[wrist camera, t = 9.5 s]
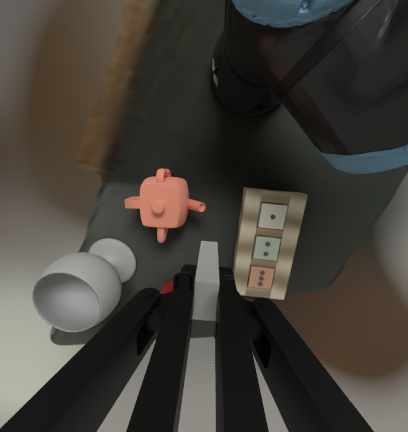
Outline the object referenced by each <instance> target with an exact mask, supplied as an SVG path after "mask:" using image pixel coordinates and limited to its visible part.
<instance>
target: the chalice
mask: <svg viewBox="0 0 408 432" xmlns="http://www.w3.org/2000/svg"><path fill="white" fill-rule="evenodd" d="M135 271H136V258H135V255H134V254H133V252H132V250H131V249H130V248H129V247H128V246H127V245H126V244H124V243H123V242H121V241H119V240H116V239H111V238H106V239H101V240H98V241H96V242H95V243H93V244H92V246H91V247H90V248H89V250H88V253H85V252H78V253H72V254H68V255H66V256H64V257H61V258H60V259H58V260H56V261H55V262H54V263H53V264H51V265H50V266H49V267H48V268H47V269H46V270H45V271H44V272H43V273H42V275H41V276H40V278H39V279H38V281H37V282H36V284H35V286H34V291H33V302H34V306H35V308H36V310H37V312H38V314H39V315H40V316H41V317H42V319H44V320H45V321H46V322H47V323H48V324H50V325H51V326H53V327H55V328H57V329H60V330H62V331H67V332H79V331H84V330H87V329H89V328H91V327H93V326H95V325H97V324H98V323H99V322H101V321H102V320H104V319H105V318H106V317H107V316H108V315H109V314H110V313H111V312H112V311H113V310H114V308H115V307H116V306H117V304H118V302H119V300H120V296H121V290H122V286H121V283H124V282H126V281H128V280H129V279H131V277H132V276H133V275H134V273H135Z"/></svg>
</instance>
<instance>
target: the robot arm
mask: <svg viewBox="0 0 408 432" xmlns="http://www.w3.org/2000/svg"><path fill="white" fill-rule="evenodd" d="M211 73H212V83H213V87H214V90H215V93H216V95H217V97H218V98H219V100H220V101H221V103H222V104H223V105H224V106H225V107H226V108H227V109H229V110H230V111H232V112H234V113H236V114H238V115H242V116H258V115H261V114H264V113H266V112H268V111H270V110H272V109H273V108H275V107H276V106H277V105H278V104H279V103H280V102H282V104H283V105H284V106H285V107H286V109H287V110H288V111H289V113H290V114H291V115H292V117H293V118H294V119H295V120H296V122H297V123H298V124H299V126H300V127H301V128H302V130H303V131H304V132H305V133H306V135H307V136H308V137H309V139H310V140H311V141H312V143H313V144H314V148H315V149H316V151H317V152H319V153H320V154H322V155H323V156H324V157H325V158H326V159H327V160H328V162H329V163H330V164H331V165H332V166H333V167H334V168H336V169H337V170H341V171H343V172H346V173H352V174H365V173H374V172H380V171H385V170H389V169H393V168H397V167H401V166H404V165H407V164H408V0H226V2H225V22H224V30H223V32H222V34H221V35H220V37H219V39H218V41H217V43H216V46H215V49H214V52H213V56H212V65H211ZM192 319H197V320H207V321H216V325H215V334H214V338H215V364H216V366H215V367H216V368H215V370H216V432H269V431H268V427H267V422H266V417H265V412H264V407H263V402H262V397H261V393H260V388H259V383H258V378H257V373H256V369H255V364H254V359H253V355H254V357H255V359H256V361H257V363H258V366H259V367H260V370H261V372H262V374H263V376H264V379H265V381H266V383H267V385H268V387H269V390H270V392H271V394H272V396H273V398H274V400H275V403H276V405H277V407H278V409H279V411H280V414H281V416H282V418H283V420H284V423H285V425H286V427H287V429H288V431H289V432H374V431H373V430H372V429H371V427H370V426H369V425H368V423H367V422H366V421H365V419H364V418H363V417H362V416H361V414H360V413H359V412H358V411H357V409H356V408H355V407H354V405H353V404H352V403H351V401H349V399H348V398H347V396H346V395H345V394H344V393H343V391H342V390H341V389H340V387H339V386H338V385H337V383H336V382H335V381H334V380H333V378H332V377H331V376H330V374H329V373H328V372H327V371H326V369H325V368H324V367H323V366H322V364H321V363H320V362H319V360H318V359H317V358H316V356H315V355H314V354H313V353H312V351H311V350H310V349H309V347H308V346H307V345H306V344H305V342H304V341H303V340H302V338H301V337H300V336H299V334H298V333H297V332H296V331H295V329H294V328H293V327H292V325H291V324H290V323H289V322H288V320H287V319H286V318H285V316H284V315H283V314H282V313H281V311H280V310H279V309H278V308H277V306H276V305H275V304H274V303H273V302H272V301H270V300H269V299H266V298H260V297H259V298H256V299H254V301H253V302H251V301H248V300H245V299H243V298H242V297H241V296H240V294H239V292H238V291H237V288H236V283H235V278H234V273H233V271H232V270H231V268H226V267H219V264H218V246H217V242H209V241H201V246H200V252H199V258H198V265H187V264H185V265H184V266H183V267H182V269H181V272H180V273H178V274H176V275H175V276H174V278H173V291H171V292H168V293H163V294H160V292H159V291H158V290H157V289H155V288H145V289H142V290H141V291H139V292H138V293H137V294H136V295H135V296H134V297H133V298H132V299H131V300H130V301H129V302H128V303H127V304H126V305H125V306H124V307H123V308H122V309H121V310H120V311H119V312H118V313H117V314H116V315H115V316H114V317H113V318H112V319H111V320H110V321H109V322H108V323H107V324H106V325H105V326H104V327H103V328H102V329H101V330H100V331H99V332H98V333H97V334H96V335H95V336H94V337H93V338H92V339H91V340H90V341H89V342H88V343H87V344H85V345H84V346H83V347H82V348H81V350H79V351H78V352H77V354H75V355H74V356H73V357H72V358H71V359H70V360H69V361H68V362H67V363H66V364H65V365H64V366H63V367H62V368H61V369H60V370H59V371H58V372H57V373H56V374H55V375H54V376H53V377H52V378H51V379H50V380H49V381H48V382H47V383H46V384H45V385H44V386H43V387H42V388H41V389H40V390H39V391H38V392H37V393H36V394H35V395H34V396H33V397H32V398H31V399H30V400H29V401H28V402H27V403H26V404H25V405H24V406H23V407H22V408H21V409H20V410H19V411H18V412H17V413H16V414H15V415H14V416H13V417H12V418H11V419H9V420H8V422H7V423H5V424H4V425H3V426H2V427H1V428H0V432H97V430H98V428H99V427H100V425H101V424H102V422H103V421H104V419H105V417H106V416H107V414H108V413H109V411H110V409H111V408H112V406H113V405H114V403H115V402H116V400H117V398H118V397H119V395H120V394H121V392H122V391H123V389H124V387H125V386H126V384H127V382H128V381H129V379H130V378H131V376H132V375H133V373H134V371H135V370H136V368H137V367H138V365H139V364H140V362H141V360H142V359H143V357H144V356H145V354H146V352H147V351H148V349H149V348H150V346H151V344H152V343H153V341H154V340H155V338H156V337H157V339H156V343H155V346H154V349H153V352H152V355H151V358H150V361H149V364H148V367H147V370H146V373H145V376H144V379H143V382H142V386H141V389H140V391H139V394H138V397H137V401H136V404H135V407H134V410H133V413H132V416H131V419H130V422H129V425H128V428H127V431H126V432H178V425H179V418H180V410H181V403H182V395H183V387H184V380H185V372H186V365H187V358H188V350H189V342H190V335H191V328H192ZM157 335H158V336H157ZM252 352H253V354H252Z"/></svg>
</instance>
